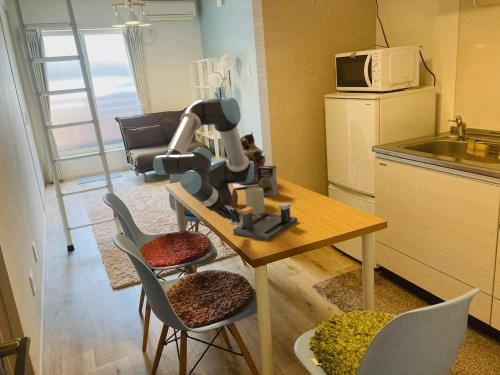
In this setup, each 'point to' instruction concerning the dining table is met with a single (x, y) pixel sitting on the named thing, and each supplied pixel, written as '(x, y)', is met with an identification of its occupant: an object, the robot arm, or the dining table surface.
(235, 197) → the hand bell
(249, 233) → the dark grey stand
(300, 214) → the dining table surface
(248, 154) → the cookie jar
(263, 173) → the coffee box
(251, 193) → the can
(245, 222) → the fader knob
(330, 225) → the dining table surface
